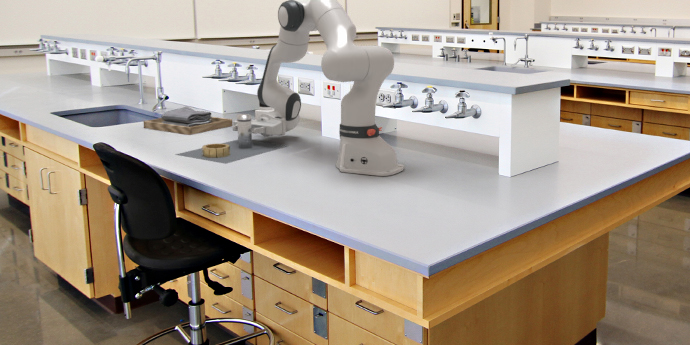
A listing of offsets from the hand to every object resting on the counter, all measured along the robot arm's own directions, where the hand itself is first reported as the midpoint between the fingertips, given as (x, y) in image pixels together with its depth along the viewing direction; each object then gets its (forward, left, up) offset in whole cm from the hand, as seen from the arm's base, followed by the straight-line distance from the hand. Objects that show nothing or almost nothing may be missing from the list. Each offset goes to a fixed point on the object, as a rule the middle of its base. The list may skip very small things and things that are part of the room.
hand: (243, 130), depth 226 cm
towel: (+52, -22, -8) cm, 57 cm away
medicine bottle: (+25, -43, -7) cm, 50 cm away
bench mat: (0, +5, -7) cm, 9 cm away
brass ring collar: (0, +14, -7) cm, 16 cm away
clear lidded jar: (0, -1, -7) cm, 7 cm away
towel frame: (+51, -21, -7) cm, 56 cm away
